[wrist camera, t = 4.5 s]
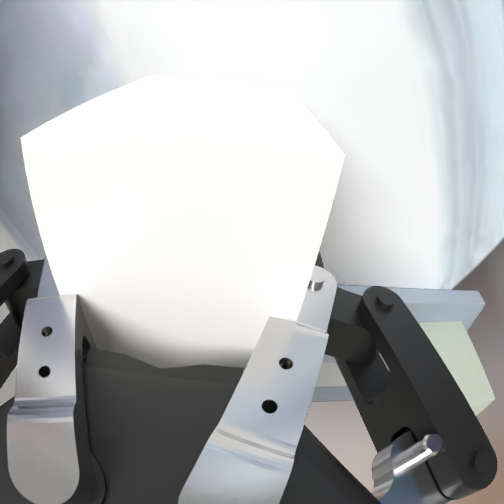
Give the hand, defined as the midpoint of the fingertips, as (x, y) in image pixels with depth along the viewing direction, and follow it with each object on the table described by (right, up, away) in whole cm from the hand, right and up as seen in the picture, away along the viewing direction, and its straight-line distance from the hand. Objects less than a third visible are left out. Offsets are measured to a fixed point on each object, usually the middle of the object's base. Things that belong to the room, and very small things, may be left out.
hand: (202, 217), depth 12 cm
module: (0, +1, +1) cm, 1 cm away
